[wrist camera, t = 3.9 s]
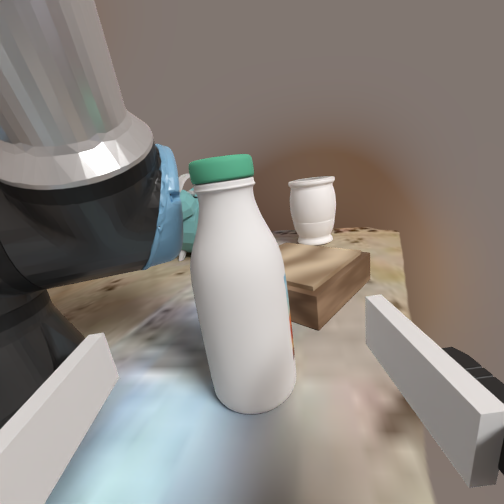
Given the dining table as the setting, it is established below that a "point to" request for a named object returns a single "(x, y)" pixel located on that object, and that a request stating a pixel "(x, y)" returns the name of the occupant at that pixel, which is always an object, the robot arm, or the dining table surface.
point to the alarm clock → (188, 216)
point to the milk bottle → (240, 289)
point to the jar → (313, 209)
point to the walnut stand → (322, 280)
